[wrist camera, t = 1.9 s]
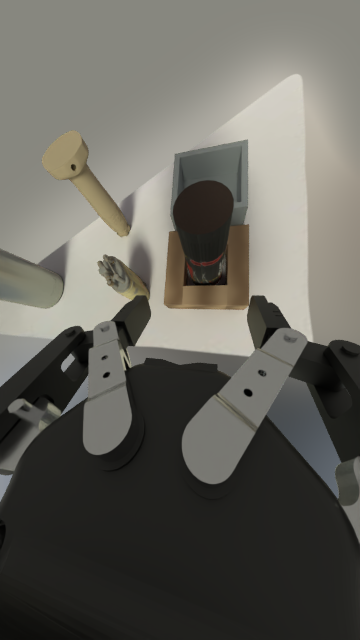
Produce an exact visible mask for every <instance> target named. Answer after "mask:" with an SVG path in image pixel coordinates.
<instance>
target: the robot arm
mask: <svg viewBox="0 0 360 640" xmlns="http://www.w3.org/2000/svg"><path fill="white" fill-rule="evenodd" d="M62 292H63V281H62V279H61V277H60V276H59V275H58V274H56V273H54V272H52V271H50V270H48V269H45V268H43V267H41V266H39V265H36V264H34V263H32V262H30V261H27V260H25V259H23V258H21V257H18V256H16V255H14V254H11V253H9V252H7V251H4V250H2V249H0V300H3V301H8V302H13V303H18V304H23V305H28V306H33V307H38V308H50V307H52V306H53V305H55V304H56V303H57V302H58V300H59V299H60V297H61V295H62ZM150 317H151V310H150V306H149V302H148V298H147V296H146V295H136V296H135V297H134V299H133V300H132V301H130V302H128V303H127V304H125V306H124V307H123V308H122V309H121V310H120V312H118V313H117V314H116V316H115V317H114V318H113V319H112V320H111V321H105V322H102V323H100V324H98V325H97V326H96V327H95V328H94V330H91V331H86V332H84V330H83V329H82V327H80V326H74V327H70V328H68V329H66V330H64V331H63V332H61V333H60V334H59V335H58V336H57V337H56V338H55V339H54V340H53V341H51V342H50V343H49V344H48V345H47V346H46V347H45V348H44V349H43V350H41V351H40V352H39V353H38V354H37V355H36V356H35V357H34V358H32V359H31V360H30V361H29V362H28V363H27V364H26V365H25V366H23V367H22V368H21V369H20V370H19V371H18V372H17V373H16V374H14V375H13V376H12V377H11V378H10V379H9V380H8V381H7V382H5V383H4V384H3V385H2V386H1V387H0V474H1V475H11V474H13V476H12V478H11V480H10V483H9V485H8V487H7V489H6V492H5V494H4V496H3V498H2V500H1V502H0V640H360V346H359V345H357V344H355V343H352V342H348V341H344V340H334V341H331V342H330V343H329V345H328V346H324V345H320V344H316V343H312V342H309V341H308V340H307V338H306V336H305V335H303V334H302V333H301V332H299V331H297V330H294V329H291V327H290V326H289V324H288V322H287V321H286V319H285V318H284V316H283V314H282V313H281V311H280V309H279V308H278V307H277V306H276V305H275V304H273V303H268V302H267V300H266V298H265V296H252V297H251V300H250V305H249V309H248V314H247V322H248V326H249V329H250V333H251V336H252V340H253V344H254V347H255V351H254V352H253V353H252V355H251V356H250V357H249V358H248V359H247V360H246V362H245V363H244V364H243V365H242V366H241V367H240V369H239V370H238V371H237V372H236V373H235V374H234V375H233V377H230V376H229V375H227V374H225V373H223V372H221V371H218V370H217V364H207V363H192V364H184V365H177V364H174V363H172V362H168V361H166V360H163V359H153V358H146V360H145V362H144V363H143V364H139V365H136V366H133V367H132V365H131V361H130V357H129V354H128V351H127V347H128V346H135V344H136V343H137V341H138V339H139V337H140V335H141V334H142V332H143V330H144V328H145V327H146V325H147V323H148V321H149V320H150ZM70 353H71V354H72V355H73V356H74V358H75V360H74V361H73V362H72V363H71V365H70V366H69V367H68V368H67V370H66V371H65V372H63V371H62V370H61V364H62V362H63V361H64V360H65V359H66V358H67V357H68V356H69V354H70ZM88 374H89V375H88ZM87 376H88V397H87V398H86V399H85V400H84V401H82V402H80V403H79V404H77V405H76V406H75V407H73V408H72V409H71V410H69V411H68V412H66V413H65V414H63V415H62V416H61V414H62V412H63V411H64V409H65V408H66V406H67V405H68V403H69V402H70V400H71V399H72V398H73V396H74V395H75V393H76V392H77V390H78V389H79V387H80V386H81V384H82V383H83V381H84V380H85V379H86V377H87ZM288 376H289V377H292V378H295V379H298V380H301V381H304V382H306V383H307V386H308V388H309V390H310V392H311V395H312V397H313V399H314V402H315V404H316V406H317V408H318V410H319V413H320V415H321V417H322V420H323V422H324V424H325V426H326V429H327V431H328V433H329V435H330V438H331V440H332V442H333V444H334V447H335V449H336V451H337V454H338V456H339V458H340V460H341V463H340V464H339V465H338V466H337V467H336V470H335V478H336V482H337V485H338V490H339V498H338V499H337V498H336V496H335V495H334V493H333V492H332V491H331V489H330V488H329V487H328V485H327V484H326V483H325V482H324V481H323V480H322V478H321V477H320V476H319V475H318V474H317V473H316V472H315V470H314V469H313V468H312V467H311V466H310V465H309V463H308V462H307V461H306V460H305V459H304V458H303V457H302V456H301V454H300V453H299V452H298V451H297V450H296V449H295V447H294V446H293V445H292V444H291V443H290V442H289V441H288V439H287V438H286V437H285V436H284V435H283V434H282V433H281V431H280V430H279V429H278V428H277V427H276V426H275V424H274V423H273V422H272V421H271V420H270V419H269V418H268V416H267V415H266V413H267V412H268V410H269V408H270V407H271V405H272V403H273V401H274V400H275V398H276V396H277V394H278V393H279V391H280V389H281V388H282V386H283V384H284V382H285V381H286V379H287V377H288ZM346 389H347V390H346ZM348 392H349V393H348Z"/></svg>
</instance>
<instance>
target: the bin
mask: <svg viewBox="0 0 360 640" xmlns="http://www.w3.org/2000/svg"><path fill="white" fill-rule="evenodd" d="M204 180H213V181H217V182H220V183H222V184H224V185H225V186H227V187H228V188H229V190H230V191H231V192H232V195H233V198H234V208H233V213H232V219H231V225H230V226H237V225H243V222H244V218H245V215H246V211H247V208H248V140H243V141H238V142H233V143H228V144H223V145H218V146H213V147H208V148H203V149H198V150H193V151H188V152H183V153H178V154H175V161H174V175H173V188H172V201H171V219H172V222H173V225H174V228H175V231H177V228H176V225H175V222H174V218H173V206H174V203H175V200H176V199H177V197H178V196H179V194H180V193H181V192H182V191H183V190H184V189H185V188H187V187H188V186H190V185H191V184H194V183H196V182H199V181H204Z"/></svg>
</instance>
